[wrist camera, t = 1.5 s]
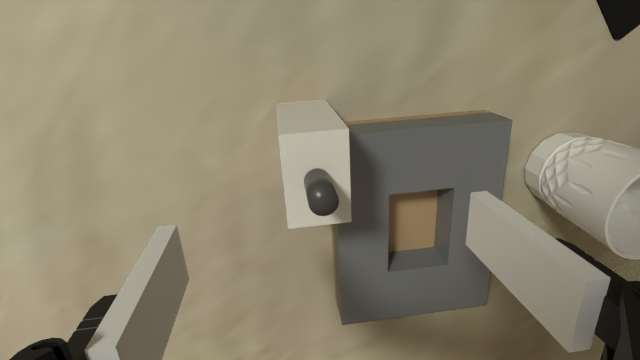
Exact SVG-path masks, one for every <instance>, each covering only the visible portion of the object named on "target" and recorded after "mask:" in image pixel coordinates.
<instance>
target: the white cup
mask: <svg viewBox="0 0 640 360" xmlns="http://www.w3.org/2000/svg"><path fill="white" fill-rule="evenodd" d="M525 183H526V184H527V186H528V188H529V189H530V191H531V192H532V194H534V195H535V196H537V197H538V198H540V199H541V200H543V201H544V202H546V203H547V204H548V205H549V206H550V207H552V208H553V209H554V210H555V211H556V212H558V213H559V214H561V215H562V216H564V217H565V218H566V219H567V220H568V221H570V222H571V223H573V224H574V225H576V226H577V227H578V228H580V229H581V230H583V231H584V232H586V233H587V234H589V235H590V236H591V237H593V238H594V239H596V240H597V241H599V242H600V243H601V244H603V245H604V246H606V247H607V248H608V249H610V250H611V251H613V252H614V253H616V254H617V255H619V256H621V257H623V258H626V259H633V260H640V147H636V146H633V145H629V144H624V143H620V142H615V141H611V140H607V139H602V138H596V137H590V136H587V135H583V134H580V133H576V132H565V133H557V134H555V135H553V136H551V137H549V138H547V139H545V140H543V141H542V142H541V143H540V144H539V145H538V146H537V147H536V148H535V150H534V151H533V152H532V153H531V155H530V157H529V159H528V162H527V164H526V166H525Z"/></svg>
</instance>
